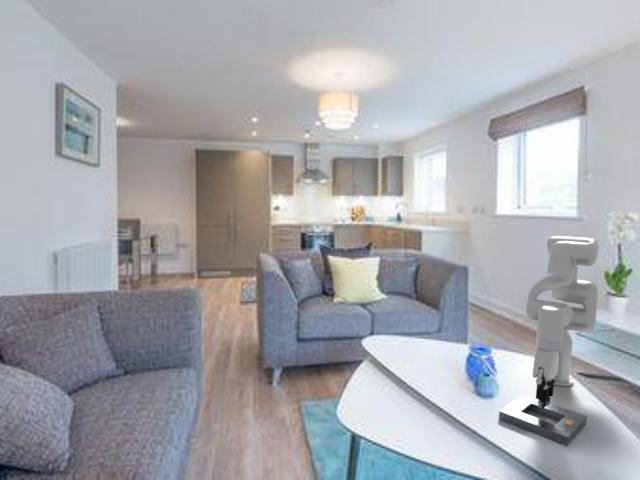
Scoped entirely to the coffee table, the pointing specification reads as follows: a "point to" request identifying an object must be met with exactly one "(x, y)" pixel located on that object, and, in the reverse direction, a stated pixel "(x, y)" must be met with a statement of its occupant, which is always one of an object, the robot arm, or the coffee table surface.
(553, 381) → the black knob lever
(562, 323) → the robot arm
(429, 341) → the coffee table surface
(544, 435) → the frame
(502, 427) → the coffee table surface
